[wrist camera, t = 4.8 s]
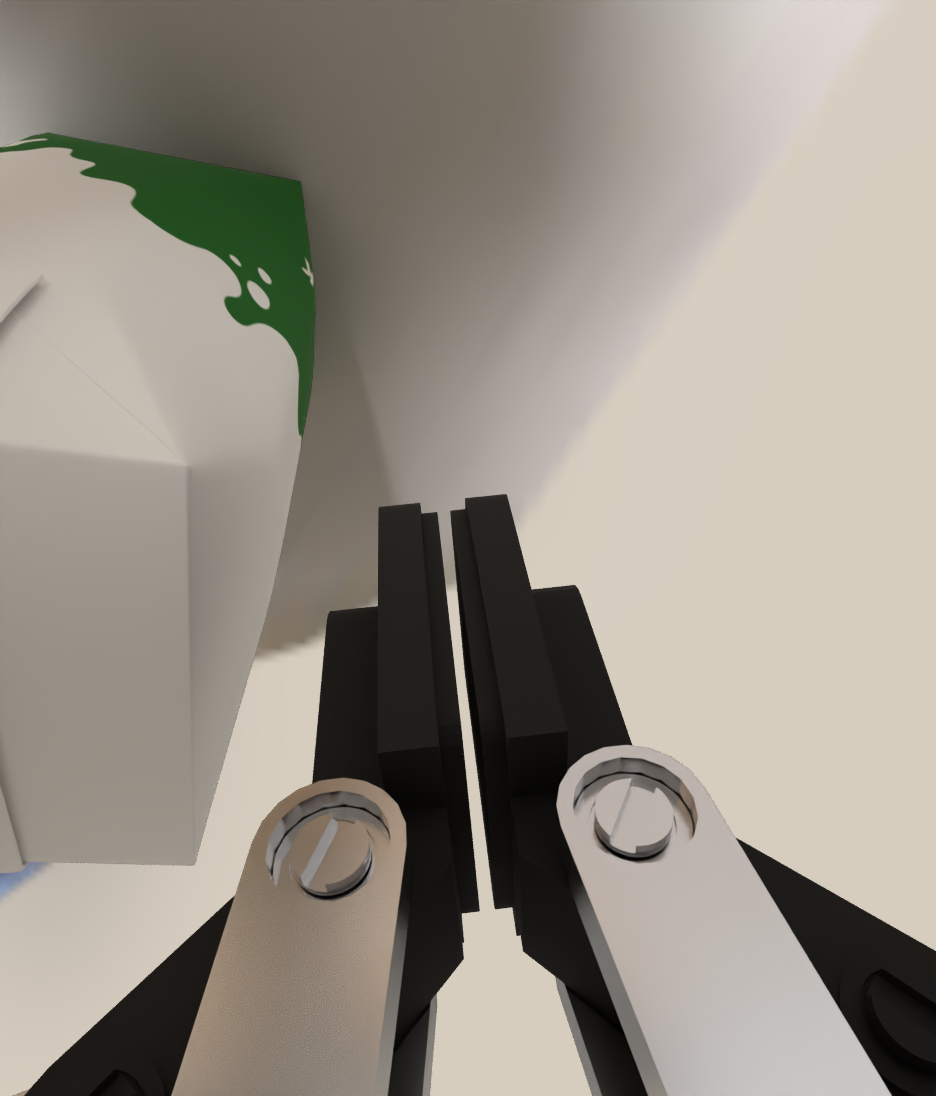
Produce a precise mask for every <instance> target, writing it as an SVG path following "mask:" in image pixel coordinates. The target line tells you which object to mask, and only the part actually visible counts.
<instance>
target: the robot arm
mask: <svg viewBox="0 0 936 1096" xmlns="http://www.w3.org/2000/svg"><path fill="white" fill-rule="evenodd" d="M465 508H466V509H463V510H453V511H450V513H451V525H452V537H453V548H454V559H455V570H456V581H457V592H458V603H459V614H460V626H461V637H462V648H463V659H464V669H465V678H466V686H467V694H468V702H469V710H470V718H471V726H472V733H473V741H474V749H475V757H476V765H477V773H478V781H479V789H480V797H481V805H482V813H483V820H484V829H485V837H486V844H487V853H488V860H489V868H490V876H491V884H492V892H493V900H494V907H495V909H501V908H509V907H512V908H513V914H514V921H515V928H516V935H517V936H519V935H521V940H522V947H523V952H525V953H526V954H528V955H529V956H530V957H531V958H532V959H534V960H535V961H536V962H538V963H539V964H540V965H542V966H543V967H544V968H545V969H547V970H548V971H549V972H551V973H552V974H553V975H554V976H555V977H556V983H557V989H558V992H559V995H560V999H561V1002H562V1005H563V1008H564V1011H565V1014H566V1017H567V1020H568V1023H569V1026H570V1029H571V1032H572V1035H573V1038H574V1041H575V1044H576V1047H577V1051H578V1053H579V1057H580V1060H581V1063H582V1066H583V1069H584V1072H585V1075H586V1078H587V1081H588V1084H589V1087H590V1090H591V1093H592V1096H936V951H935V950H933V949H931V948H929V947H927V946H926V945H924V944H922V943H920V942H919V941H917V940H915V939H913V938H912V937H910V936H908V935H906V934H904V933H903V932H901V931H899V930H898V929H896V928H894V927H892V926H890V925H889V924H887V923H885V922H883V921H882V920H880V919H878V918H876V917H875V916H873V915H871V914H869V913H868V912H866V911H864V910H862V909H861V908H859V907H857V906H855V905H854V904H852V903H850V902H848V901H846V900H845V899H843V898H841V897H839V896H838V895H836V894H834V893H832V892H831V891H829V890H827V889H825V888H824V887H822V886H820V885H818V884H817V883H815V882H813V881H811V880H809V879H808V878H806V877H804V876H802V875H801V874H799V873H797V872H795V871H793V870H792V869H790V868H788V867H787V866H785V865H783V864H781V863H780V862H778V861H776V860H774V859H772V858H771V857H769V856H767V855H765V854H764V853H762V852H760V851H758V850H757V849H755V848H753V847H751V846H750V845H748V844H746V843H744V842H743V841H741V840H739V839H737V838H735V836H734V835H733V833H732V831H731V830H730V828H729V826H728V825H727V823H726V822H725V820H724V818H723V816H722V815H721V813H720V811H719V810H718V808H717V806H716V805H715V803H714V801H713V800H712V798H711V796H710V795H709V793H708V792H707V790H706V788H705V787H704V786H703V785H702V783H701V782H700V781H699V780H698V779H697V777H696V776H695V775H694V774H693V772H692V771H691V770H689V769H688V768H687V767H685V766H684V765H683V764H681V763H680V762H678V761H677V760H675V759H674V758H673V757H671V756H669V755H666V754H663V753H661V752H658V751H656V750H653V749H651V748H646V747H639V746H632V743H631V740H630V737H629V735H628V731H627V729H626V725H625V723H624V720H623V717H622V714H621V711H620V708H619V705H618V702H617V699H616V696H615V693H614V690H613V687H612V685H611V682H610V679H609V676H608V673H607V670H606V667H605V664H604V661H603V658H602V655H601V652H600V650H599V647H598V644H597V641H596V638H595V635H594V632H593V629H592V626H591V623H590V620H589V617H588V614H587V612H586V609H585V606H584V603H583V600H582V597H581V594H580V593H579V590H578V588H577V587H576V586H575V585H570V586H561V587H552V588H543V589H533V590H531V586H530V582H529V578H528V575H527V571H526V567H525V563H524V559H523V555H522V551H521V547H520V544H519V540H518V536H517V532H516V528H515V524H514V520H513V517H512V513H511V509H510V505H509V501H508V498H507V495H506V494H502V495H493V496H483V497H473V498H465ZM472 840H473V839H472V829H471V819H470V809H469V799H468V789H467V779H466V769H465V760H464V749H463V740H462V730H461V721H460V713H459V704H458V694H457V685H456V676H455V667H454V658H453V649H452V640H451V631H450V623H449V613H448V605H447V595H446V586H445V577H444V568H443V559H442V550H441V541H440V532H439V523H438V514H437V512H434V513H424V514H421V506H420V503H415V504H405V505H395V506H385V507H379V521H378V606H376V607H366V608H357V609H348V610H338V611H330V612H329V614H328V618H327V625H326V636H325V647H324V658H323V670H322V681H321V692H320V704H319V715H318V725H317V737H316V747H315V759H314V770H313V781H312V784H310V785H308V786H305V787H303V788H300V789H298V790H296V791H295V792H294V793H292V794H291V795H289V796H288V797H286V798H285V799H283V800H282V801H281V802H279V803H278V804H277V805H276V806H275V807H274V809H273V810H272V811H271V812H270V813H269V814H268V815H267V817H266V818H265V819H264V820H263V821H262V823H261V825H260V827H259V829H258V831H257V833H256V835H255V837H254V839H253V841H252V844H251V847H250V850H249V853H248V856H247V859H246V863H245V866H244V869H243V872H242V875H241V878H240V882H239V885H238V888H237V891H236V894H235V896H234V897H233V898H231V899H230V900H229V901H228V902H227V903H226V904H225V905H224V906H223V907H222V908H221V909H220V910H219V911H218V912H216V913H215V914H214V915H213V916H212V917H211V918H210V919H209V920H208V921H207V922H206V923H205V924H203V925H202V926H201V927H200V928H199V929H198V930H197V931H196V932H195V933H194V934H193V935H192V936H190V937H189V938H188V939H187V940H186V941H185V942H184V943H183V944H182V945H181V946H180V947H179V948H177V949H176V950H175V951H174V952H173V953H172V954H171V955H170V956H169V957H168V958H167V959H166V960H165V961H163V963H161V964H160V965H159V966H158V967H157V968H156V969H155V970H154V971H153V972H152V973H151V974H150V975H148V976H147V977H146V978H145V979H144V980H143V981H142V982H141V983H140V984H139V985H138V986H137V987H135V989H133V990H132V991H131V992H130V993H129V994H128V995H127V996H126V997H125V998H124V999H122V1000H121V1001H120V1002H119V1003H118V1004H117V1005H116V1006H115V1007H114V1008H113V1009H112V1010H111V1011H110V1012H108V1013H107V1014H106V1015H105V1016H104V1017H103V1018H102V1019H101V1020H100V1021H99V1022H98V1023H97V1024H95V1025H94V1026H93V1027H92V1028H91V1029H90V1030H89V1031H88V1032H87V1033H86V1034H85V1035H84V1036H82V1037H81V1038H80V1039H79V1040H78V1041H77V1042H76V1043H75V1044H74V1045H73V1046H72V1047H71V1048H70V1049H69V1050H67V1051H66V1052H65V1053H64V1054H63V1055H62V1056H61V1057H60V1058H59V1059H58V1060H57V1061H55V1062H54V1063H53V1064H52V1065H51V1066H50V1067H49V1068H48V1069H47V1070H46V1072H45V1073H44V1074H43V1075H42V1076H41V1077H40V1079H38V1081H37V1082H36V1083H35V1084H34V1085H33V1086H32V1087H31V1088H30V1089H29V1090H26V1091H24V1092H21V1093H18V1094H16V1095H13V1096H430V1087H431V1075H432V1062H433V1049H434V1038H435V1025H436V1013H437V996H436V994H437V992H438V991H439V990H440V988H441V987H442V986H443V985H444V983H445V982H446V981H447V980H448V978H449V977H450V976H451V974H452V973H453V972H454V971H455V969H456V968H457V967H458V965H459V964H460V963H461V962H462V960H463V959H464V956H463V945H462V943H464V937H463V925H462V913H470V912H477V911H480V909H479V900H478V889H477V881H476V880H477V879H476V869H475V859H474V849H473V841H472Z"/></svg>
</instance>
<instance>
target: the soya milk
mask: <svg viewBox="0 0 936 1096" xmlns="http://www.w3.org/2000/svg"><path fill="white" fill-rule="evenodd" d="M314 326H315V287H314V278H313V270H312V263H311V255H310V248H309V240H308V233H307V225H306V218H305V210H304V202H303V195H302V186H301V182H300V181H295V180H290V179H284V178H279V177H274V176H269V175H264V174H258V173H253V172H248V171H243V170H238V169H233V168H228V167H223V166H217V165H212V164H207V163H202V162H197V161H192V160H186V159H181V158H176V157H171V156H166V155H161V154H155V153H150V152H145V151H140V150H135V149H130V148H124V147H119V146H114V145H109V144H103V143H98V142H93V141H88V140H83V139H77V138H72V137H67V136H62V135H57V134H52V133H45V134H40V135H34V136H31V137H28V138H25V139H23V140H20V141H18V142H15V143H12V144H9V145H6V146H3V147H0V873H12V872H20V871H22V870H23V869H25V867H26V865H27V863H28V862H61V863H104V864H141V865H190V866H192V865H195V863H196V860H197V855H198V852H199V848H200V844H201V841H202V837H203V833H204V830H205V826H206V822H207V819H208V815H209V812H210V808H211V805H212V801H213V798H214V794H215V791H216V787H217V784H218V780H219V777H220V773H221V770H222V766H223V763H224V759H225V756H226V752H227V749H228V745H229V742H230V738H231V735H232V731H233V728H234V725H235V721H236V718H237V714H238V711H239V708H240V704H241V701H242V697H243V694H244V691H245V687H246V684H247V680H248V677H249V673H250V670H251V667H252V663H253V660H254V657H255V653H256V650H257V646H258V643H259V639H260V636H261V633H262V629H263V626H264V622H265V619H266V615H267V611H268V607H269V603H270V599H271V596H272V591H273V587H274V583H275V578H276V573H277V569H278V564H279V559H280V555H281V550H282V545H283V540H284V535H285V530H286V524H287V519H288V514H289V508H290V503H291V498H292V492H293V487H294V482H295V476H296V471H297V466H298V460H299V455H300V449H301V444H302V439H303V433H304V428H305V422H306V417H307V411H308V406H309V400H310V395H311V387H312V378H313V361H314Z"/></svg>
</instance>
